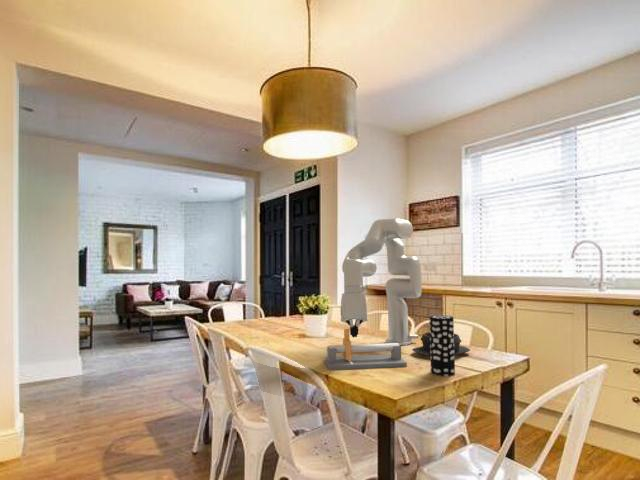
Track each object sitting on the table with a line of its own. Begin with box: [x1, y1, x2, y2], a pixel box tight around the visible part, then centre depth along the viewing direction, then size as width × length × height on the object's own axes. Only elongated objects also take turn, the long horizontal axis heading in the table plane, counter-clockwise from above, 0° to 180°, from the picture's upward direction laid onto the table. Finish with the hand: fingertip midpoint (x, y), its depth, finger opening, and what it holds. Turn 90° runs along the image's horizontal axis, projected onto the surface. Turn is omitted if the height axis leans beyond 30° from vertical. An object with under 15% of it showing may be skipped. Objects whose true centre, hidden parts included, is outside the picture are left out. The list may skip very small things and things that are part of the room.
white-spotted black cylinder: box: [428, 314, 456, 377], centre depth 142 cm, size 8×8×20 cm
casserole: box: [412, 331, 471, 356], centre depth 170 cm, size 25×19×8 cm
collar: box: [342, 328, 352, 360], centre depth 155 cm, size 2×7×11 cm, turn 6°
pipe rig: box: [324, 342, 408, 371], centre depth 156 cm, size 30×14×8 cm, turn 96°
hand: (354, 336), depth 156 cm, fingers closed
